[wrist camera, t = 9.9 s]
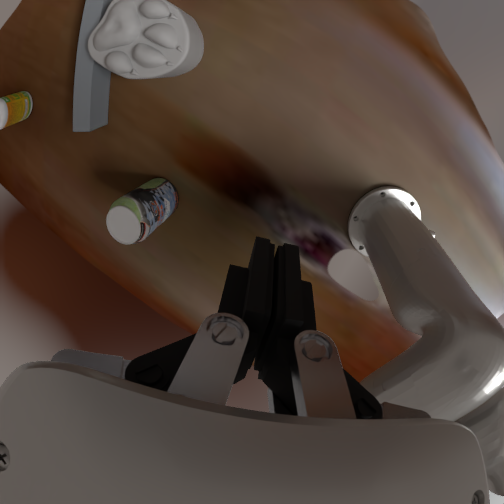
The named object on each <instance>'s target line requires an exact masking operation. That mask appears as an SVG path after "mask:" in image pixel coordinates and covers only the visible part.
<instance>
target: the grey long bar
mask: <svg viewBox="0 0 504 504" xmlns="http://www.w3.org/2000/svg"><path fill="white" fill-rule="evenodd" d="M112 1H113V0H86V2H85V7H84V12H83V17H82V22H81V28H80V34H79V41H78V48H77V57H76V66H75V78H74V96H73V132H90V131H92V130H95V129H97V128H99V127H102V126H104V125H106V124H108V104H109V89H110V77H111V71H109V70H108V69H106V68H104V67H103V66H102V65H100V64H99V63H97V62H96V61H95V60H94V59H93V58H92V57H91V55H90V53H89V50H88V39H89V37H90V35H91V33H92V32H93V30H94V29H95V28H96V26H97V25H98V24H99V23H100V21H101V20H102V18H103V16H104V14H105V12H106V10H107V8H108V6H109V5H110V3H111V2H112Z"/></svg>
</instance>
